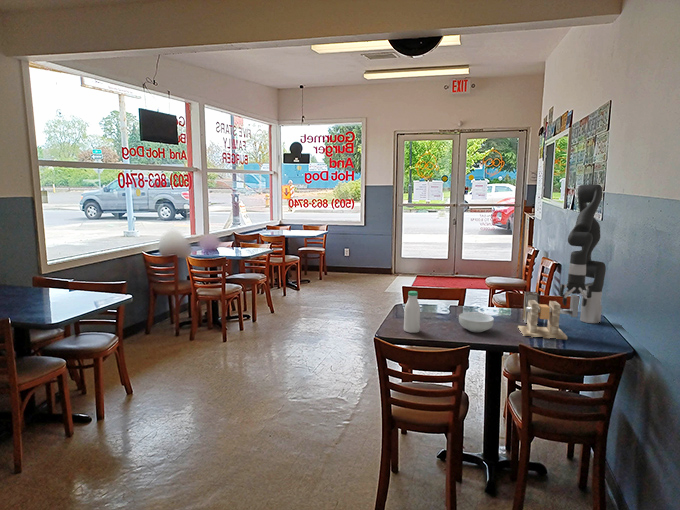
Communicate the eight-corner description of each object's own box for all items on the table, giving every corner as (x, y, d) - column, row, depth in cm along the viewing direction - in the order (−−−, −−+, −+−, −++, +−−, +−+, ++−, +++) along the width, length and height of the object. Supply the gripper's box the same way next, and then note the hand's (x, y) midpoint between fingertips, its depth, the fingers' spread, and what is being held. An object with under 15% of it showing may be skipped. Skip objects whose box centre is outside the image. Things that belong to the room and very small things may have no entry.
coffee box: (538, 325, 258) (540, 295, 256) (525, 324, 259) (527, 294, 257) (534, 320, 267) (537, 291, 264) (522, 319, 268) (524, 290, 266)
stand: (558, 330, 249) (561, 300, 246) (567, 339, 235) (570, 307, 233) (517, 328, 252) (520, 298, 249) (523, 336, 238) (526, 304, 235)
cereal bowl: (455, 332, 243) (456, 318, 242) (460, 323, 259) (461, 310, 258) (491, 337, 237) (492, 322, 236) (494, 327, 252) (495, 314, 251)
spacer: (545, 316, 245) (546, 304, 244) (548, 319, 239) (549, 307, 238) (537, 315, 245) (538, 304, 244) (540, 319, 239) (541, 307, 239)
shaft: (574, 314, 242) (576, 295, 240) (577, 317, 238) (579, 297, 236) (525, 312, 245) (526, 292, 244) (527, 314, 241) (528, 294, 239)
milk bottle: (421, 332, 241) (423, 293, 238) (406, 333, 240) (407, 293, 237) (416, 328, 249) (418, 289, 246) (401, 328, 248) (403, 290, 245)
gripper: (590, 272, 239) (586, 304, 242) (559, 270, 241) (556, 303, 244) (595, 275, 232) (592, 308, 234) (563, 273, 234) (561, 306, 236)
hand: (574, 305), depth 239 cm, fingers open, 8 cm apart
